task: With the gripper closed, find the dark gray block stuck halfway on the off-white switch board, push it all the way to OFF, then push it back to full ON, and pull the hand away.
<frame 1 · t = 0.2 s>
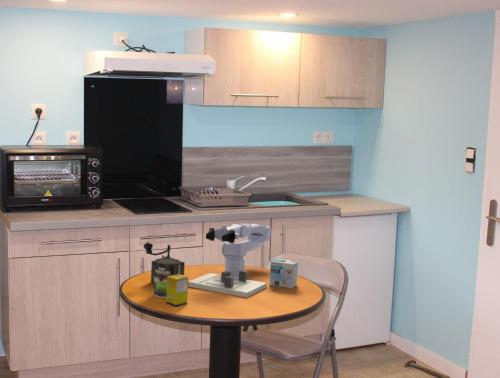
hand: (214, 237, 302), 21 cm above the table, tool horizontal, fingers open, 7 cm apart
light bulb box: (283, 285, 313), on the table
breaker board: (227, 286, 305), on the table
supplement box: (176, 304, 276), on the table
dark gray block: (225, 276, 305), point 4 cm above the table, slide at 5.0 cm
handle 2: (243, 275, 308), point 4 cm above the table, slide at 10.0 cm
coffee can: (166, 295, 288), on the table
handle 1: (229, 281, 297), point 4 cm above the table, slide at 10.0 cm
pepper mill: (162, 284, 305), on the table
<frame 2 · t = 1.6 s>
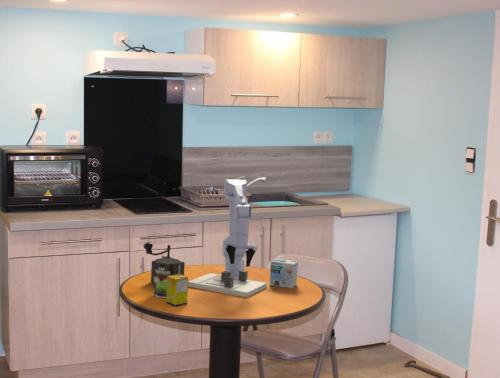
hand: (240, 265, 301), 10 cm above the table, tool pointing down, fingers open, 7 cm apart
nothing on the table moved.
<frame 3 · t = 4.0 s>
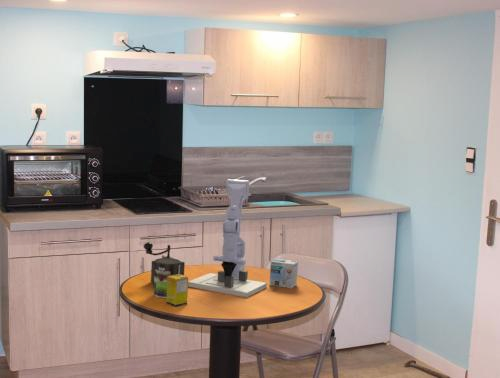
hand: (228, 279, 304), 3 cm above the table, tool pointing down, fingers closed
dark gray block: (222, 276, 306), point 4 cm above the table, slide at 3.3 cm, touching gripper
everything else where it was.
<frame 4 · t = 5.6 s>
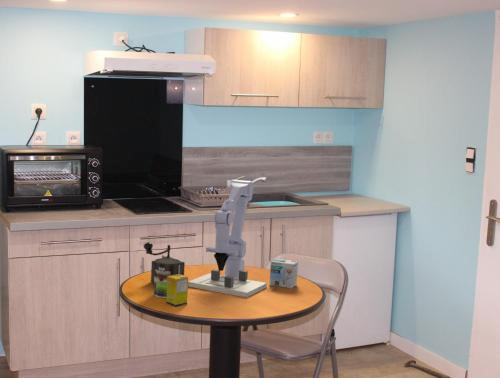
hand: (221, 270, 306), 7 cm above the table, tool pointing down, fingers closed
dark gray block: (215, 274, 307), point 4 cm above the table, slide at -0.1 cm
everything else where it was.
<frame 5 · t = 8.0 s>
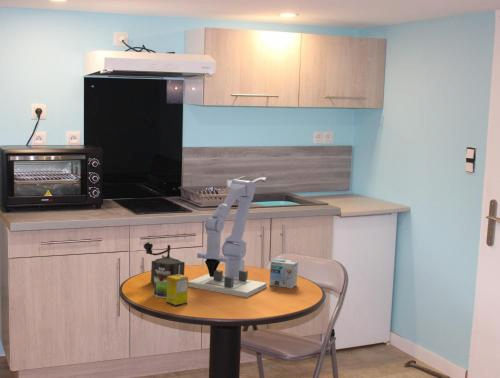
hand: (212, 276, 308), 3 cm above the table, tool pointing down, fingers closed
dark gray block: (218, 275, 307), point 4 cm above the table, slide at 1.3 cm, touching gripper
everything else where it was.
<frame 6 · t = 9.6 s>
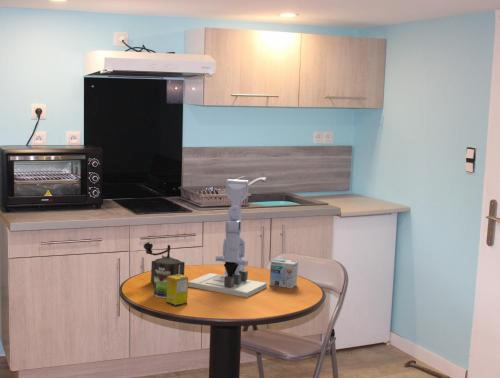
hand: (230, 279, 304), 3 cm above the table, tool pointing down, fingers closed
dark gray block: (236, 278, 303), point 4 cm above the table, slide at 10.1 cm, touching gripper
everything else where it was.
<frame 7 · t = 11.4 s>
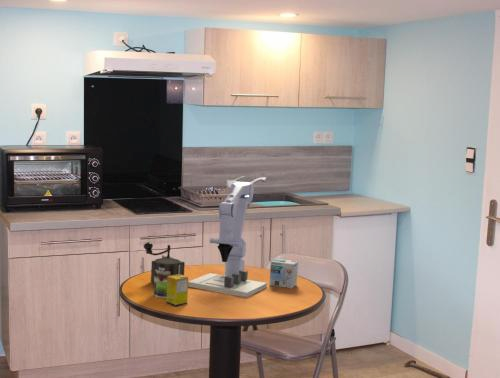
hand: (224, 261, 306), 10 cm above the table, tool pointing down, fingers closed
dark gray block: (236, 278, 303), point 4 cm above the table, slide at 10.1 cm
everything else where it was.
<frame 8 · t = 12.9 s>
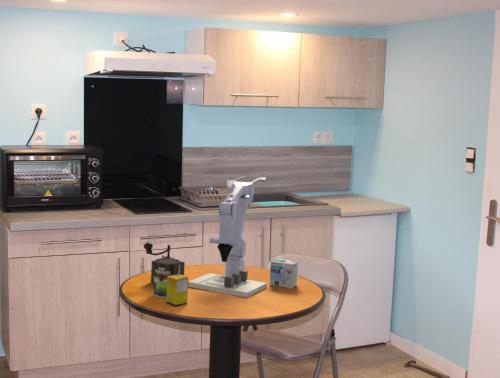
hand: (224, 261, 306), 10 cm above the table, tool pointing down, fingers closed
nothing on the table moved.
at the end: dark gray block slide at 10.1 cm; handle 2 slide at 10.0 cm; handle 1 slide at 10.0 cm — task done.
